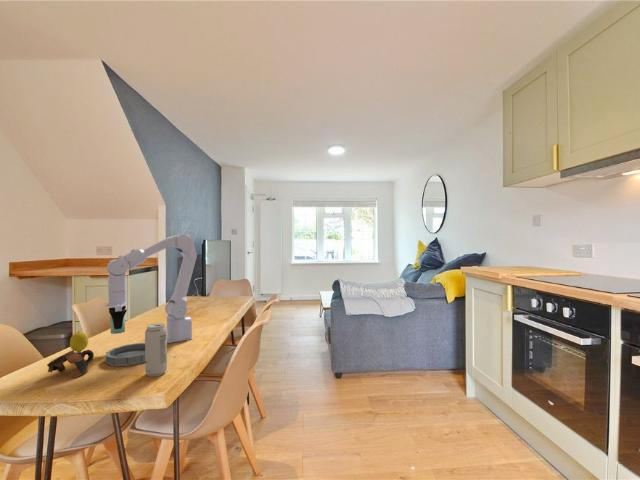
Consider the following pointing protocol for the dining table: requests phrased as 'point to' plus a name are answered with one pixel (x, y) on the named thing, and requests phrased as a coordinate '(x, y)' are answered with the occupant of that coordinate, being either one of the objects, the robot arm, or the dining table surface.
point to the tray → (126, 355)
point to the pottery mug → (72, 358)
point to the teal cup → (116, 331)
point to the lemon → (79, 341)
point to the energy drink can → (155, 350)
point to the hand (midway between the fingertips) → (117, 327)
